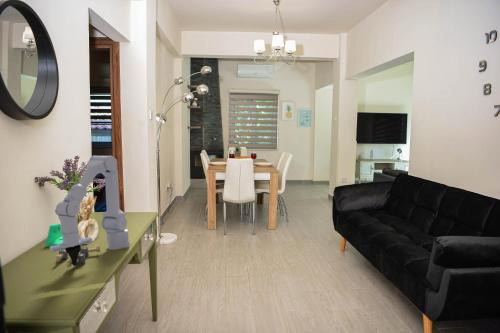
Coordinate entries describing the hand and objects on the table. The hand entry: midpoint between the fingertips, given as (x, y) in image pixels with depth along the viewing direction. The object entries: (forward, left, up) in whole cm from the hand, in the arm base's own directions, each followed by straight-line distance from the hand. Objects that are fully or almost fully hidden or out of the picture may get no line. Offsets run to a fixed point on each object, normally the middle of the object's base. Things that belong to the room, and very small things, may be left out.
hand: (74, 264), depth 132 cm
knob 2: (0, -2, -1) cm, 3 cm away
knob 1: (+6, -10, -2) cm, 12 cm away
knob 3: (-5, -12, -1) cm, 13 cm away
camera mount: (+10, -37, -3) cm, 39 cm away
